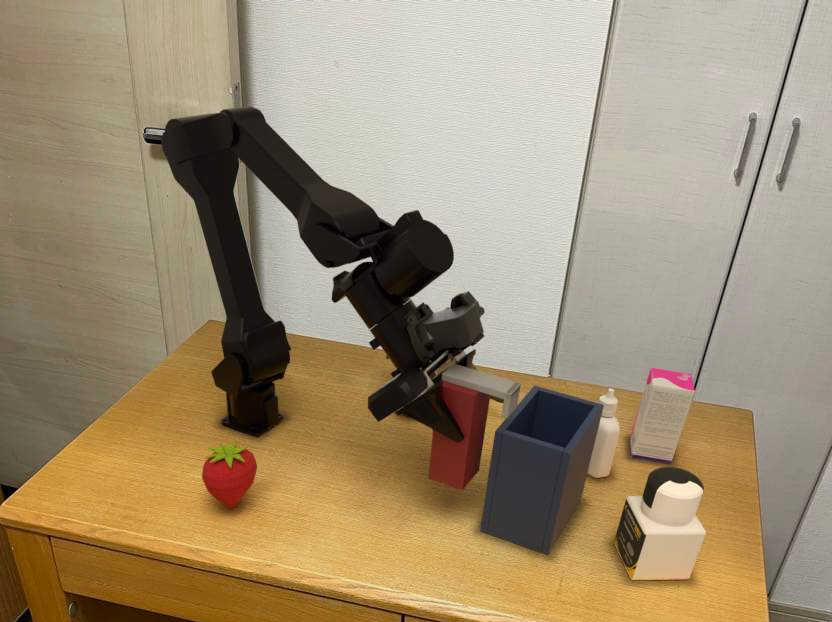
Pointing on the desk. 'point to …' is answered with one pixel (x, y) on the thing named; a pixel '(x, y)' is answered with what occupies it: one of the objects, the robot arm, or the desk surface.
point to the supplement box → (661, 415)
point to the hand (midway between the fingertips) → (470, 430)
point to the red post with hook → (467, 422)
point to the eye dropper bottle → (605, 437)
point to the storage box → (539, 468)
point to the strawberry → (229, 473)
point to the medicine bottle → (662, 527)
